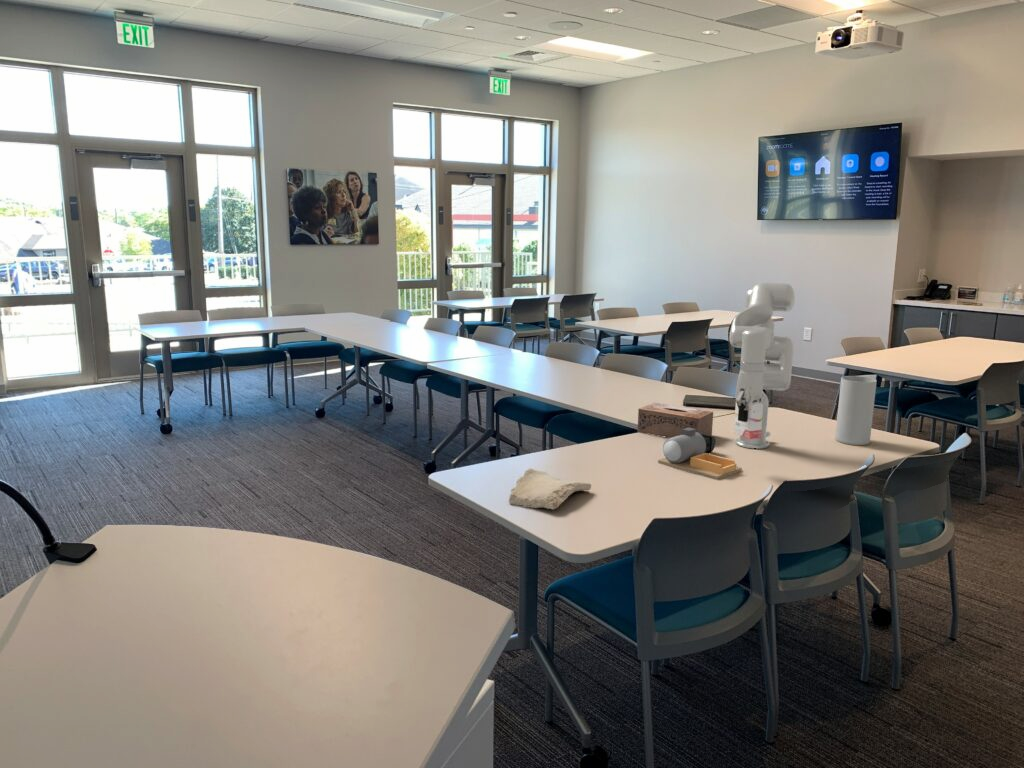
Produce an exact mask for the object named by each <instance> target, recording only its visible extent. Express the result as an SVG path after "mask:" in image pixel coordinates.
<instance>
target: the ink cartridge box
mask: <svg viewBox="0 0 1024 768" xmlns="http://www.w3.org/2000/svg"><path fill="white" fill-rule="evenodd" d="M743 400H745V401H746V399H743ZM743 404H744V406H745V403H743ZM734 410H735V411H734V423H733V425H734V427H733V434H734V435H738V436H739V437H740V436H743V437H745V438H748V439H755V438H761V430H762V415H763V404H761V403H758V402H754V401H753V396H751V399H750V402H749V403H748V408H747V410H748V419H747V422H742V421H738V411H739V409H738V406H737V403H736V402H735V408H734Z"/></svg>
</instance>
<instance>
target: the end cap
mask: <svg viewBox="0 0 1024 768" xmlns="http://www.w3.org/2000/svg"><path fill="white" fill-rule="evenodd" d="M701 435H702V436H703V437H704V439H705V442H706V450H705V452H704V453H708V454H709V453H710V454H711V453H712V452H713V451H715V450H714V449H715V447H716V443H717V441H716V437H714V436H713V435H711V436H709V435H704V434H701Z"/></svg>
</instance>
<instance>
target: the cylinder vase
mask: <svg viewBox="0 0 1024 768" xmlns="http://www.w3.org/2000/svg"><path fill="white" fill-rule="evenodd" d="M876 390H877V379H875V378H872V377H867V376H860V375H859V376H857V375H846V376H841V378H840V385H839V395H838V396H839V399H838V405H837V407H838V408H837V416H836V427H835V435H834V436H835V437H834V438H835V440H836V441H837V442H839V443H842V444H846V445H851V446H866V445H868V444H870V442H871V436H872V428H873V427H872V426H873V417H874V408H875V407H874V406H875V401H876V399H875V398H876Z"/></svg>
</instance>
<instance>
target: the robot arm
mask: <svg viewBox="0 0 1024 768" xmlns="http://www.w3.org/2000/svg"><path fill="white" fill-rule="evenodd" d="M794 305H795V292H794V288H793V286H792V285H791V284H788V283H783V282H782V283H779V282H778V283H777V282H761V283H756V284H755V285H754V286H753V287H752V288H750V289H748V290H747V291H746V293H745V306H746V308H745V309H743V310H741V312H739V313H738V314H736V315H735V316H734V318H733V320H732V321H731V322H732V323H731V325H730V330H729V337H728V338H729V343H730V345H731V346H732V347H733V348H739V349H741V352H740V364H739V365H740V367H739V373H738V377H737V381H736V382H737V383H736V389H735V396H734V397H735V398H734V399H735V404H736V403H737V406H738V409H739V411H738V421H742V422H747V419H748V410H747V408H748V403H749V402H750V399H751V396H753V401H754V402H758V403H761V404H763V415H762V430H761V438H755V439H748V438H745V437H743V436H740V435H739V437H738V438H736V439H735V441H734V443H735V445H737V446H739V447H742V448H746V449H747V448H748V449H754V448H756V449H755V450H759V449H761V450H762V449H766V448H769V447H770V442H769V441H768V440H766V438H767V437H770V436H771V432H770V431H767V425H768V417H769V416H768V413H769V403H770V402H769V398H768V396H767V395H766V393H765V392H764V391H763V390H770V391H771V390H772V391H786V390H788V389H790V386H791V381H792V370H793V369H792V368H793V357H794V343H793V341H792V339H791V338H790V337H787V336H779V335H777V336H775V334H774V333H775V322H774V320H773V313H774V312H783V313H785V312H790V311H791V310H792V309H793V308H794ZM765 362H776V363H779V364H773V363H771V364H770V363H769V364H768V363H765ZM743 399H746V401H745V400H743ZM743 403H745V406H744V404H743Z"/></svg>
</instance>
